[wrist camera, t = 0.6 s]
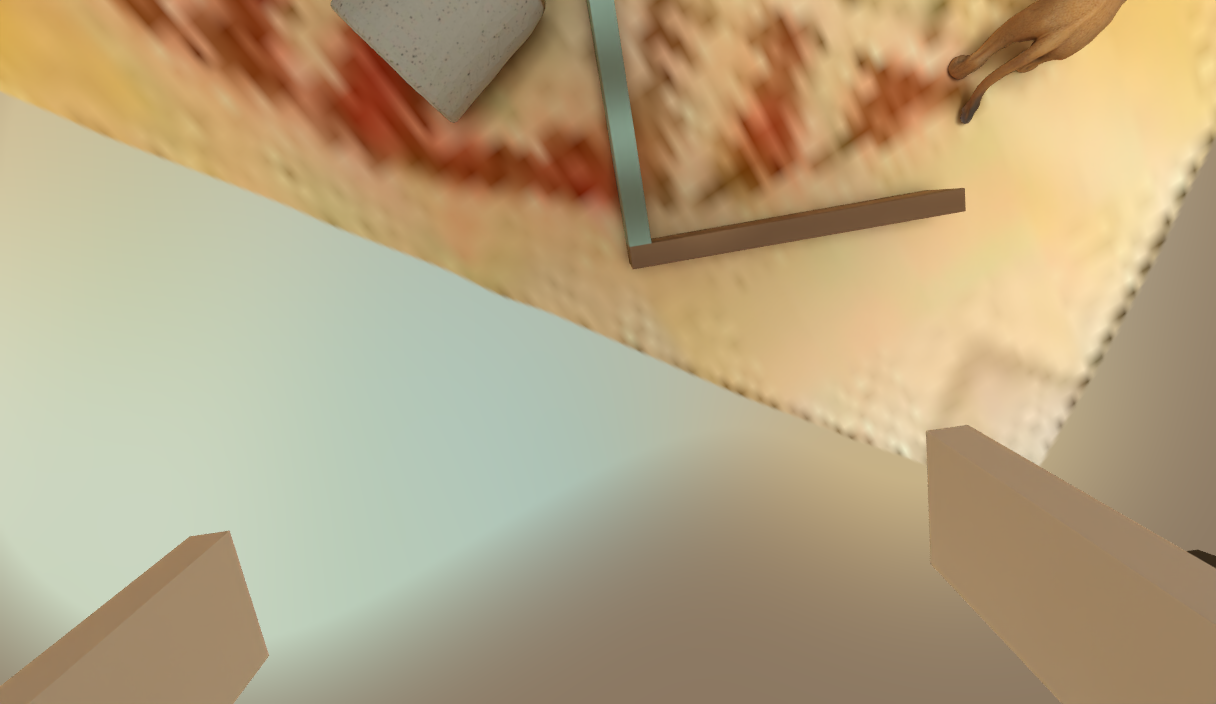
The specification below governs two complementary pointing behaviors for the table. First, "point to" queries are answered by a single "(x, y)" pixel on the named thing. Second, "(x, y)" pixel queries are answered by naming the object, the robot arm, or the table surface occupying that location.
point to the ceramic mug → (444, 42)
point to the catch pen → (730, 236)
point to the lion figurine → (1036, 40)
